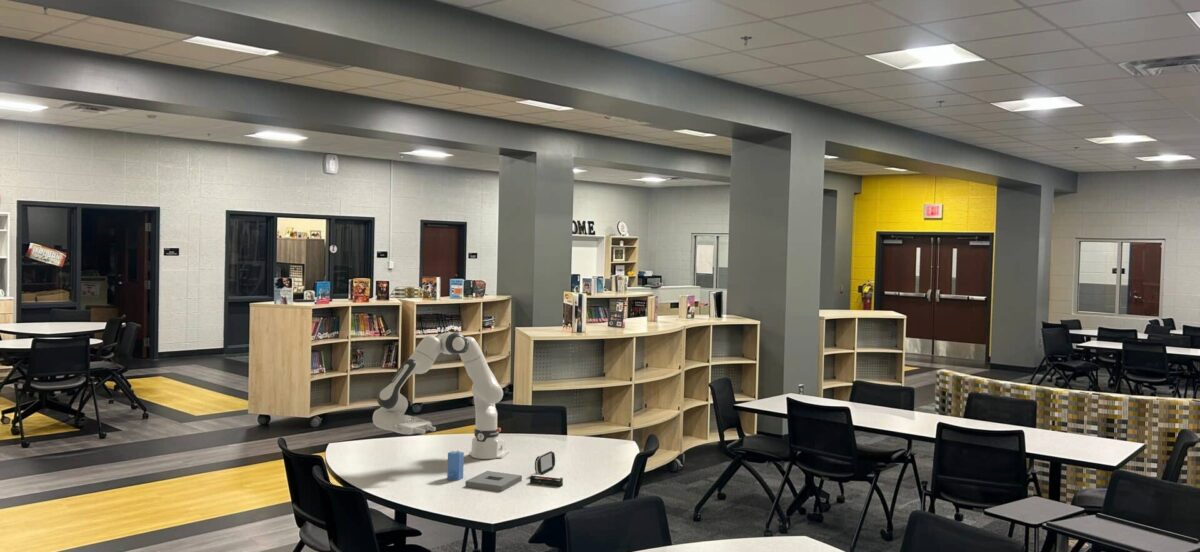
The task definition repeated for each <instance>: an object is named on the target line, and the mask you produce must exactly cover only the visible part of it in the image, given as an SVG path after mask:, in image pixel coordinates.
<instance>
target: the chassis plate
mask: <svg viewBox="0 0 1200 552" xmlns="http://www.w3.org/2000/svg"><path fill="white" fill-rule="evenodd" d="M522 479H523V475H521V474H516V473H505V472H499V471H491V470H490V471H489V470H486V471H484V472H482V473H479V474H477V475H476V476H473V477H471V478H469V479H467V480H465V488H472V489H480V490H486V491H487V490H488V491H494V492H501V493H502V492H504V491H505V490H508V489H510V488H511V487H513V486H515V485H517V484H518V483H521V482H522Z"/></svg>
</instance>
